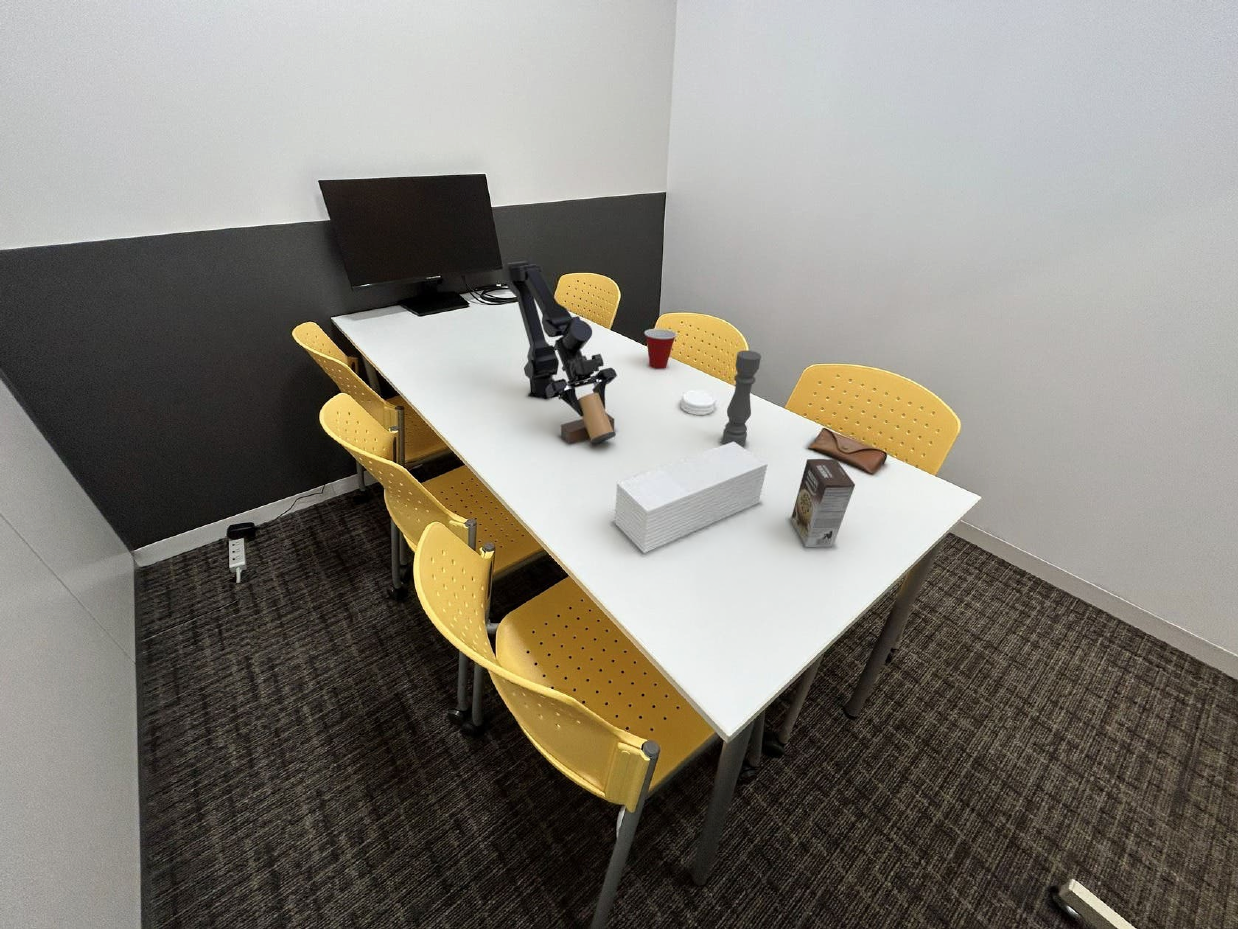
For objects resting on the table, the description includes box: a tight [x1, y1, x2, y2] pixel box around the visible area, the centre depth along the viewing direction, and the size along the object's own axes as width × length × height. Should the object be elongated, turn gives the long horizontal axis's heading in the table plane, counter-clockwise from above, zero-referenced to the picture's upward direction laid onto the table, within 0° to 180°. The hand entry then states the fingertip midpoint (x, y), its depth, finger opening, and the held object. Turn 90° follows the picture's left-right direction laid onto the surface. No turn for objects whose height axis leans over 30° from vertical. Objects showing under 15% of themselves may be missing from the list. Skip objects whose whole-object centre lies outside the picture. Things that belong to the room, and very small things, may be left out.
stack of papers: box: [614, 442, 768, 554], centre depth 114 cm, size 32×11×11 cm, turn 123°
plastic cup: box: [643, 328, 678, 370], centre depth 180 cm, size 11×11×12 cm
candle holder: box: [721, 349, 762, 448], centre depth 136 cm, size 6×6×25 cm
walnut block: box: [560, 412, 615, 445], centre depth 143 cm, size 4×14×4 cm, turn 123°
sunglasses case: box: [807, 427, 888, 474], centre depth 138 cm, size 18×7×7 cm
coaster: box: [680, 389, 717, 416], centre depth 158 cm, size 10×10×4 cm
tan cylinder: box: [577, 392, 617, 445], centre depth 138 cm, size 13×7×13 cm, turn 33°
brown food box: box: [790, 458, 856, 548], centre depth 109 cm, size 9×6×16 cm
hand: (593, 413), depth 138 cm, fingers closed on tan cylinder, 6 cm apart
